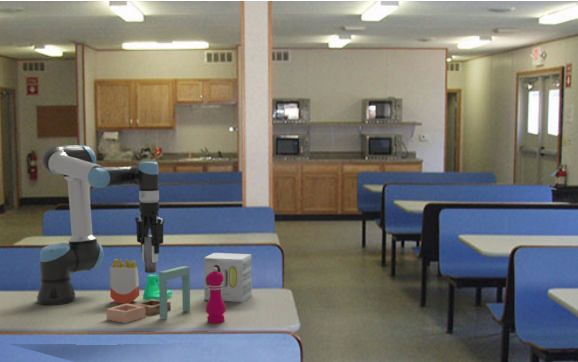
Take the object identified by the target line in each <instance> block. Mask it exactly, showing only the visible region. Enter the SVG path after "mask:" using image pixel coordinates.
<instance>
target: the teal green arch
mask: <svg viewBox="0 0 578 362" xmlns="http://www.w3.org/2000/svg"><path fill="white" fill-rule="evenodd" d="M190 267H191V266H185V265H182V266H178V267H174V268H171V269H170V268H169V269H166V270H165V269H164V270H162V271H161V270H160V271H158V276H159V283H158V286H159V301H160V313H159V318H161V319H165V320H166V319H168V311H167V302H168V299H167V290H168V281H169V280H173V279H178V278H181V281H182V282H181V284H182V285H181V288H182V289H181V290H182V291H181V293H182V311H183V312H191V294H190V293H191V280H190V279H191V278H190V276H191V274H190V273H191V272H190Z"/></svg>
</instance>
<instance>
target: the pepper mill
mask: <svg viewBox="0 0 578 362" xmlns="http://www.w3.org/2000/svg"><path fill="white" fill-rule="evenodd" d="M217 270H218V269H217V268H216V267H214V268H213V272H210V273H209V274H208V276H207V281H208V283H209V289H210V298H209V300H207V303H206V307H205V312H206V314H207V315H208V316H206V317H207V319H206V320H207V321H206V322H208V323H210V324H221V323H224V322H225V315H224V314H225V312H226V310H227V309H226V304H225V301H223V300H222V297H221V289H222V284H221V283H222V282H223V279H224V278H223V275H222V273H220V272H218V271H217Z"/></svg>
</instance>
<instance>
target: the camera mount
mask: <svg viewBox="0 0 578 362" xmlns="http://www.w3.org/2000/svg"><path fill="white" fill-rule="evenodd" d="M144 286H145V287H144V291H143V296H142V300H143V301H147V300H150V299H155V300H159V274H148V276H147V279H146V283H145V285H144ZM172 295H173V291H172V290H170V289H169V290H168V289H167V300H168V299H170V296H172Z"/></svg>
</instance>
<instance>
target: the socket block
mask: <svg viewBox="0 0 578 362" xmlns="http://www.w3.org/2000/svg"><path fill="white" fill-rule="evenodd" d="M133 305H138V306H143V307H145V315H148V314H149V316H154V314H155V315H157V313H158V314H160V301H159V300H155V299H150V300H143V301H140V302H136V303H133ZM171 308H172V307H171V301H167V312H169V311H171Z"/></svg>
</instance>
